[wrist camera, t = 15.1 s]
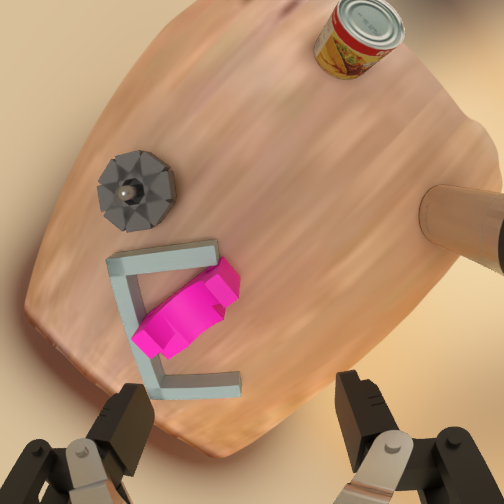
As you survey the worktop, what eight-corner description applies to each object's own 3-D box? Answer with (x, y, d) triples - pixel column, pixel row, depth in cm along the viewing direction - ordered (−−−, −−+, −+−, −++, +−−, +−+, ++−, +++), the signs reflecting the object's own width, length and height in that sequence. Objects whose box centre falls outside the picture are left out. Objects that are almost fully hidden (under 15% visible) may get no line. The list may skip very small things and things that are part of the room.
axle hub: (163, 169, 37) (137, 168, 28) (167, 202, 38) (144, 211, 29) (133, 175, 37) (101, 177, 28) (137, 207, 38) (107, 217, 29)
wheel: (169, 146, 32) (164, 144, 30) (180, 221, 35) (175, 225, 32) (103, 162, 33) (93, 161, 30) (113, 232, 35) (105, 236, 32)
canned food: (364, 86, 34) (404, 60, 23) (310, 70, 34) (333, 34, 22) (369, 42, 32) (405, 8, 21) (317, 26, 32) (340, -17, 20)
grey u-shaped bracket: (216, 239, 39) (214, 245, 36) (241, 383, 45) (241, 396, 42) (115, 252, 40) (105, 259, 36) (155, 386, 46) (150, 399, 42)
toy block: (174, 343, 44) (163, 371, 36) (146, 314, 42) (130, 339, 35) (251, 290, 42) (252, 313, 34) (223, 255, 40) (217, 273, 33)
